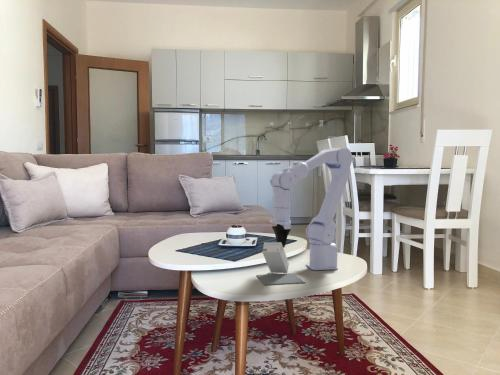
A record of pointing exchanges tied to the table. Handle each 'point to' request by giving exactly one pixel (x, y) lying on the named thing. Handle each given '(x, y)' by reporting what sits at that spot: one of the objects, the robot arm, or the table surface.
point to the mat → (280, 279)
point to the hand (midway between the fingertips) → (281, 247)
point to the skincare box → (275, 257)
